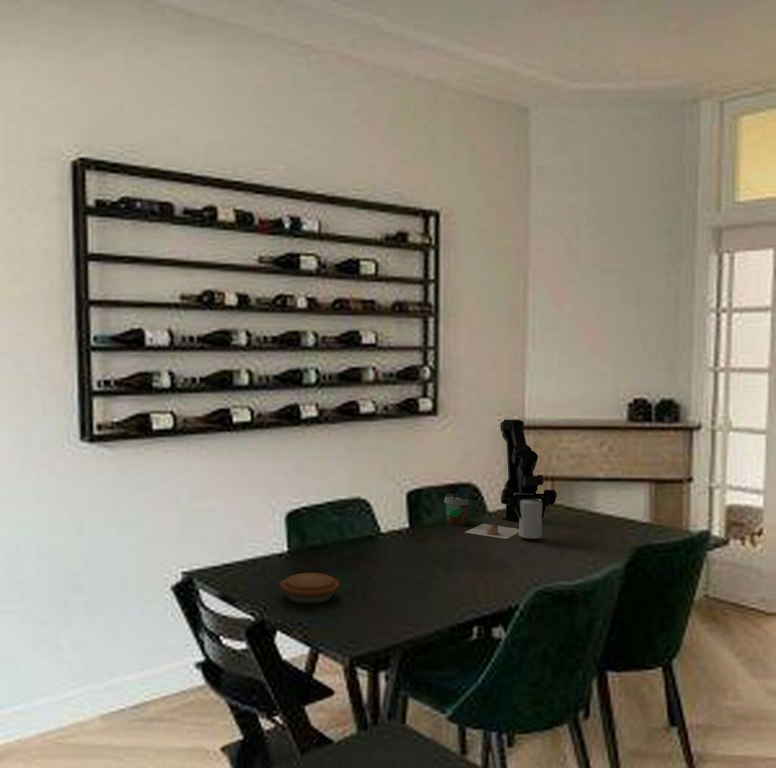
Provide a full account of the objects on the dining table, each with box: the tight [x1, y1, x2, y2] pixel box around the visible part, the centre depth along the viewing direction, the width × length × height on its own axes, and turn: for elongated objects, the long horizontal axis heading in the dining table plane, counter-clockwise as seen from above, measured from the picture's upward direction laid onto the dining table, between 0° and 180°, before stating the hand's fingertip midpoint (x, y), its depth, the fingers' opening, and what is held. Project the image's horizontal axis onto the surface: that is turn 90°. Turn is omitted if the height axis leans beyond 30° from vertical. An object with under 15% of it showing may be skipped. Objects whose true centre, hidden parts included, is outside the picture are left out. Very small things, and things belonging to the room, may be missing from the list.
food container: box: [443, 493, 470, 526], centre depth 289 cm, size 12×6×10 cm, turn 25°
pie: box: [279, 572, 341, 605], centre depth 203 cm, size 15×16×5 cm
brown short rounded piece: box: [487, 524, 499, 535], centre depth 273 cm, size 4×4×3 cm
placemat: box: [464, 523, 519, 540], centre depth 277 cm, size 16×16×1 cm
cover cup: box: [518, 499, 543, 539], centre depth 266 cm, size 7×7×12 cm
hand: (531, 517), depth 265 cm, fingers closed on cover cup, 7 cm apart
